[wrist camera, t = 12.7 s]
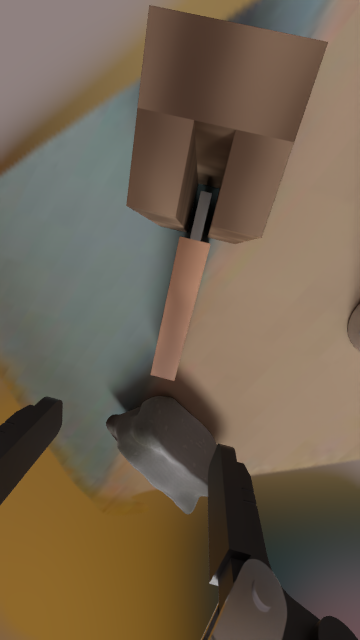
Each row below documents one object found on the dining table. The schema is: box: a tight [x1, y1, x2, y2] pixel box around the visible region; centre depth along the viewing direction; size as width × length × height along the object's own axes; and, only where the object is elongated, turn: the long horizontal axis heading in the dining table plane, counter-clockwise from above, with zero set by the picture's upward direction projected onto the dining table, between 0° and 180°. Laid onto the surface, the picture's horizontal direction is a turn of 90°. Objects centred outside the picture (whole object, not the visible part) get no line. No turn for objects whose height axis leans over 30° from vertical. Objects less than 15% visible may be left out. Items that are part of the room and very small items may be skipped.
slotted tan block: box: [126, 6, 328, 244], centre depth 16 cm, size 9×9×11 cm
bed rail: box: [151, 191, 212, 381], centre depth 23 cm, size 3×20×5 cm, turn 167°
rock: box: [106, 396, 217, 514], centre depth 30 cm, size 18×11×8 cm, turn 43°
